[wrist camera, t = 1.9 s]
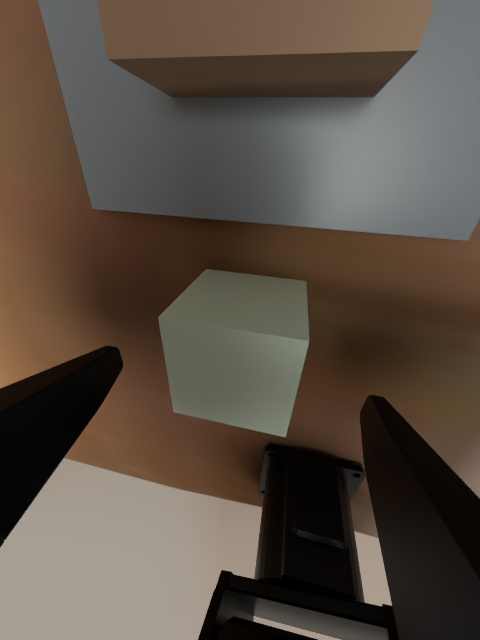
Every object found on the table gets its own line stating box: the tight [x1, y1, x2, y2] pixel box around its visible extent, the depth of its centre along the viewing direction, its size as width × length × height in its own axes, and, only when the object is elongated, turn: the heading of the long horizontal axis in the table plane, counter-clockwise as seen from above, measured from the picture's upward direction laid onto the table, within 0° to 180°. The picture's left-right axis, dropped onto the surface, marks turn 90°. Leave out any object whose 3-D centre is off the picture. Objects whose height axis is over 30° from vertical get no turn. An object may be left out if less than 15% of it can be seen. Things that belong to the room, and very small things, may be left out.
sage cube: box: [158, 269, 309, 437], centre depth 10 cm, size 4×4×4 cm
